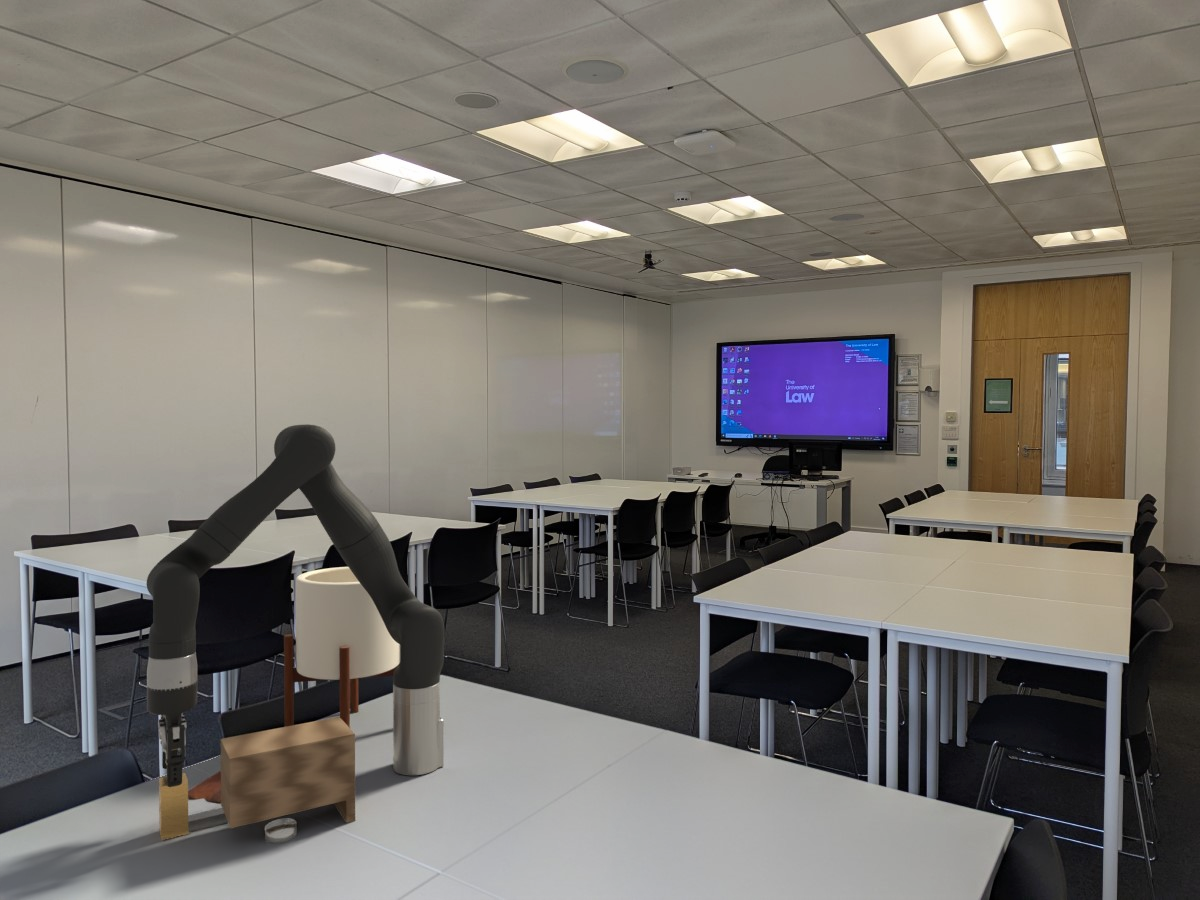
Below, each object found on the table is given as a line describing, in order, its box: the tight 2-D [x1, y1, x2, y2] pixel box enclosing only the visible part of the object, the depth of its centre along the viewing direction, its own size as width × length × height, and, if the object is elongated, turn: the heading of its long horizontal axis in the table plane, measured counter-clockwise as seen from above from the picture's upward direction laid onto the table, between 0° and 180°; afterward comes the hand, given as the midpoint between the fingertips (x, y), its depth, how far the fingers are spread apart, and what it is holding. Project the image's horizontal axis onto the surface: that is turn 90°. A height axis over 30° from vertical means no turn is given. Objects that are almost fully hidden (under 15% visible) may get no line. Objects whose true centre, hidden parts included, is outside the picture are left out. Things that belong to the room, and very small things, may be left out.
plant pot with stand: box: [283, 566, 401, 729], centre depth 181 cm, size 22×22×36 cm
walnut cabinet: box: [220, 716, 356, 830], centre depth 138 cm, size 20×10×15 cm, turn 123°
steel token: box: [264, 817, 298, 845], centre depth 134 cm, size 5×5×2 cm
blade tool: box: [158, 772, 228, 841], centre depth 140 cm, size 21×4×9 cm, turn 123°
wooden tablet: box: [188, 770, 221, 804], centre depth 160 cm, size 27×10×2 cm, turn 169°
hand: (171, 776), depth 135 cm, fingers open, 8 cm apart
